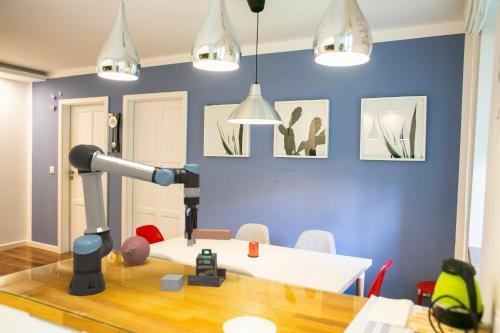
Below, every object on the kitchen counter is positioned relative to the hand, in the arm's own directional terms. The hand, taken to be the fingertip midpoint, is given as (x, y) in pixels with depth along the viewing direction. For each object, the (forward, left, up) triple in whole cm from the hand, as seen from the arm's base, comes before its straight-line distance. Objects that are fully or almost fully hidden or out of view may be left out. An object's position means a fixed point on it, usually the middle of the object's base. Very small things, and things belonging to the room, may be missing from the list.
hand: (191, 244), depth 188 cm
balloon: (+21, +39, -17) cm, 48 cm away
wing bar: (0, -8, +3) cm, 9 cm away
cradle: (0, -8, -17) cm, 19 cm away
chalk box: (0, -8, -16) cm, 18 cm away
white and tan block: (-12, +5, -17) cm, 21 cm away
